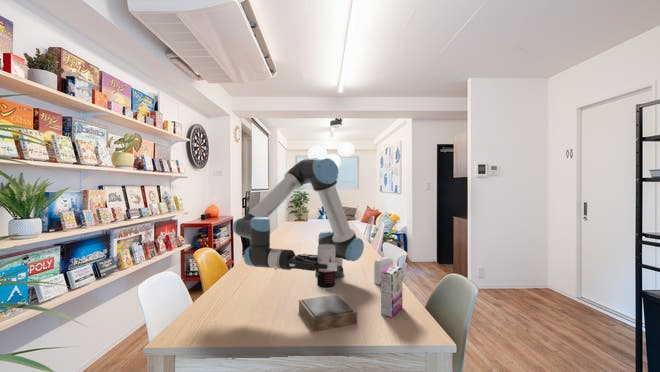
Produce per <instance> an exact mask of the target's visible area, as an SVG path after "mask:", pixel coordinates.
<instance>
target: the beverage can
mask: <svg viewBox="0 0 660 372" xmlns="http://www.w3.org/2000/svg"><path fill="white" fill-rule="evenodd" d="M317 255H318V263H319V262H331V263H335V245H332V244H321V245H319V244H318V245H317ZM316 277H317V279H316V280H317V283H316V284H317V287H318V288H319V289H324V290H327V289H328V290H330V289H333V288H334V287H335V286H336V278H335V271H329V270H319V269H318V273H317V276H316Z"/></svg>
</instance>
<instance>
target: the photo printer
mask: <svg viewBox="0 0 660 372" xmlns="http://www.w3.org/2000/svg"><path fill="white" fill-rule="evenodd" d="M391 265H394V259H392V257H388V256H387V257H386V256H383V257H379V258H378V259H376V260H375V261H374V270H373V271H374V273H373V274H374V283H375V284H376V285H381V272H382V271H384V270H385V269H387V268H388V267H390V266H391Z"/></svg>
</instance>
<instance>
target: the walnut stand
mask: <svg viewBox="0 0 660 372" xmlns="http://www.w3.org/2000/svg"><path fill="white" fill-rule="evenodd" d="M298 310H299V312H300V314H301V315H302V316H303V318H304V320H305V321H306V322H307V323H308V325H309V326H310V327H311V329H312V330H313V332H318V331H322V330H323V331H324V330H328V329H334V328H339V327H345V326H348V325H349V326H350V325H355V324H358V311H357V310H355V308H353V307H352V306H351V305H350V304H348V303H347V301H345V300H344V299H343V298H342V297H341V296H340V295H338V294H331V295H325V296H317V297H316V296H315V297H310V298H303V299H299V300H298Z"/></svg>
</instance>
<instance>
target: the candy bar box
mask: <svg viewBox="0 0 660 372" xmlns="http://www.w3.org/2000/svg"><path fill="white" fill-rule="evenodd" d="M403 307H404V306H403V266H399V265H394V264H393V265H391V266H390V267H388V268H387V269H385V270H384V271H382V272H381V284H380V313H381V314H380V315H381V316H384V317H389V318H394V317H395V316H396V315H397V313H398V312H399V311H400V310H401V309H402V308H403Z"/></svg>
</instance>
